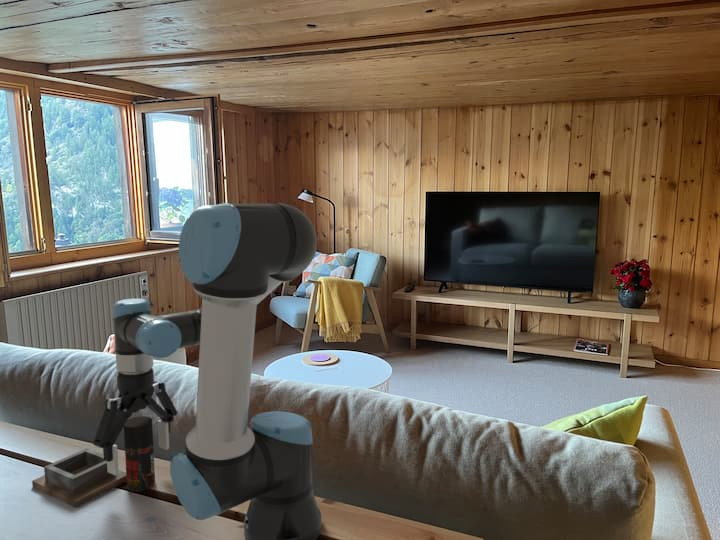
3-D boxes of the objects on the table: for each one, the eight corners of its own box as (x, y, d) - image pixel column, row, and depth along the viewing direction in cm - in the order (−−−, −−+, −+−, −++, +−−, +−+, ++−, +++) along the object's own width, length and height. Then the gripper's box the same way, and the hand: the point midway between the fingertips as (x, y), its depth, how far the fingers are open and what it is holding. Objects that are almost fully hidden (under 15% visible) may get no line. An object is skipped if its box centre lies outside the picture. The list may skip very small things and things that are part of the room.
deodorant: (128, 479, 126) (124, 418, 124) (155, 476, 128) (152, 415, 126) (125, 493, 120) (121, 428, 118) (154, 489, 122) (151, 425, 120)
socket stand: (129, 479, 126) (128, 459, 125) (76, 507, 115) (74, 485, 114) (86, 462, 134) (85, 443, 133) (32, 487, 123) (30, 466, 122)
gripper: (168, 352, 133) (171, 435, 136) (70, 383, 111) (77, 480, 114) (190, 357, 129) (193, 442, 132) (94, 390, 108) (100, 490, 111)
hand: (139, 460), depth 123 cm, fingers open, 13 cm apart
